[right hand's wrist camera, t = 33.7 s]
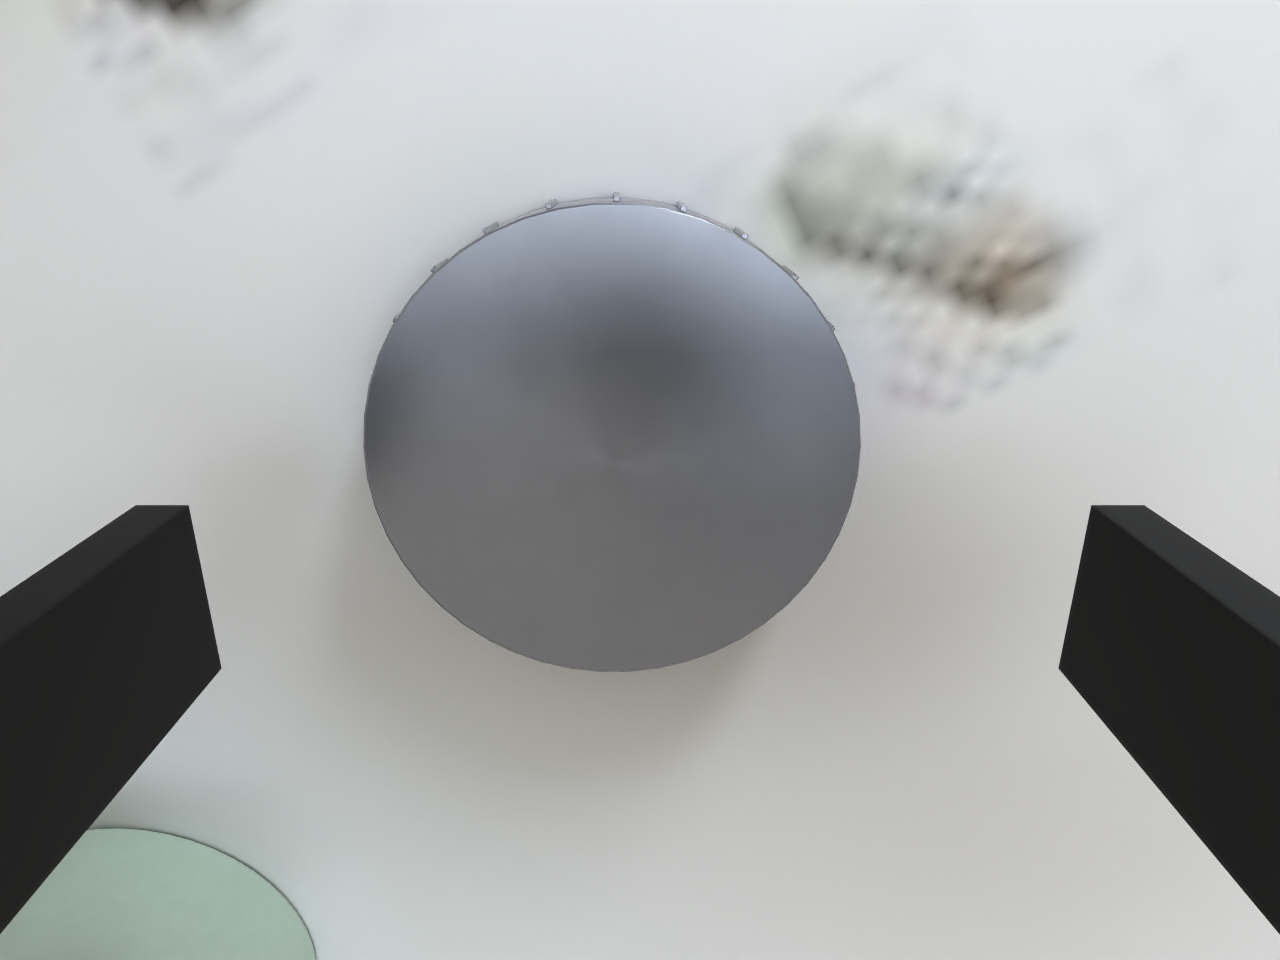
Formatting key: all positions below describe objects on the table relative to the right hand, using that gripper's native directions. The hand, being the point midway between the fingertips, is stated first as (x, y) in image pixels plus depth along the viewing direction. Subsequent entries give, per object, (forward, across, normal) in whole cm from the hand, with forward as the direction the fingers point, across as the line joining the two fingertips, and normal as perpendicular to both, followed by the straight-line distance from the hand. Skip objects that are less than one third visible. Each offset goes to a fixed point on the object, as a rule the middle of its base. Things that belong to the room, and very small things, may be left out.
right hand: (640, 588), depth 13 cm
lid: (+4, 0, -1) cm, 4 cm away
